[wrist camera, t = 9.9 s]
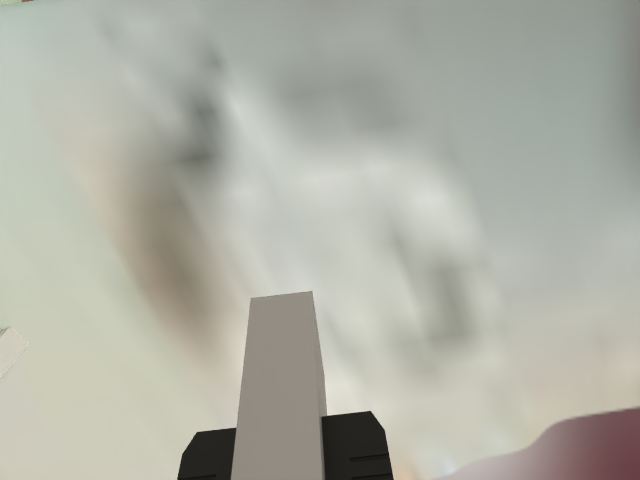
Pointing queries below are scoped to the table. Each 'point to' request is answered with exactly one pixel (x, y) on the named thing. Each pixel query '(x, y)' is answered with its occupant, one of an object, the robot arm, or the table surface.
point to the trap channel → (11, 1)
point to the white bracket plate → (10, 348)
